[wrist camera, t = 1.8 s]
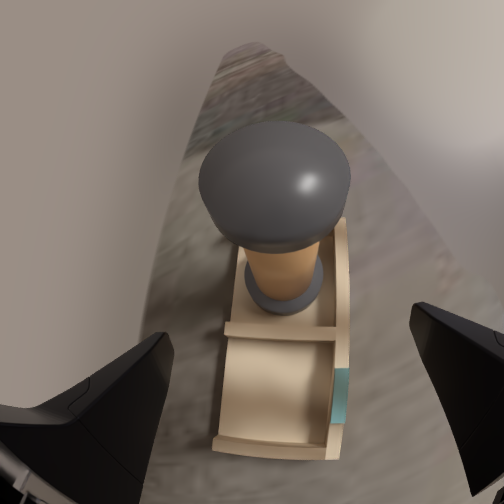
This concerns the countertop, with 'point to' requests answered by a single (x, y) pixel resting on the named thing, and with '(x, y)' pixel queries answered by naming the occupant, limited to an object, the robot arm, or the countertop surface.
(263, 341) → the divided tray
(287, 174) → the bobbin
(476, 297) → the countertop surface
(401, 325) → the countertop surface
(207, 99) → the countertop surface
